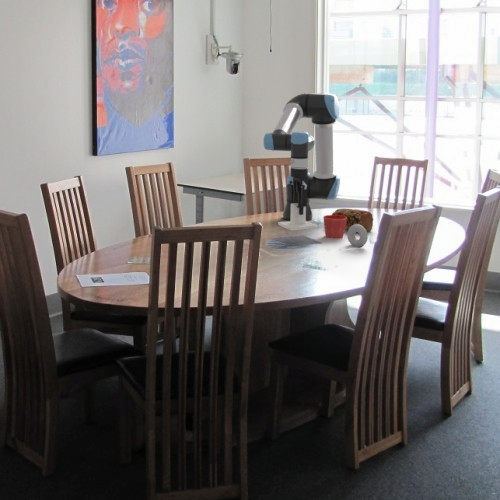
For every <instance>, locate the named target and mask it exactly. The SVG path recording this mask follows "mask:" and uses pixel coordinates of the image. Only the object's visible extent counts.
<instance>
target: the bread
mask: <svg viewBox="0 0 500 500" xmlns="http://www.w3.org/2000/svg"><path fill="white" fill-rule="evenodd" d="M331 215H340V216H345V217H347V221H346V226H345V231H347V232H348V230H349V228H350V227H351V226H352V225H355V224H359V225H361V226H363V227H364V228H365V229H366V231H367V233H369V232H371V231H372V230H373V227H374V225H373V224H374V215H373V213H371V212H370V211H368V210H363V209H356V208H354V209H353V208H338V209H336V210H334V211H333V212H332V214H331ZM345 231H344V232H345ZM356 233H357V234H359V233H358V232H356Z"/></svg>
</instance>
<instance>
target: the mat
mask: <svg viewBox="0 0 500 500" xmlns="http://www.w3.org/2000/svg"><path fill="white" fill-rule="evenodd" d="M272 239H274V240H276V241H278V242H280V243H283V244H285V245H288V246H289V247H293V246H295V247H296V246H306V245H308V246H309V245H320V244H323V242H321V241H319V240H316V239H314V238H311V237H309V236H307V235H294V236H281V237H272Z"/></svg>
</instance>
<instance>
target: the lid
mask: <svg viewBox="0 0 500 500" xmlns="http://www.w3.org/2000/svg"><path fill="white" fill-rule="evenodd" d="M297 206H298V203H291V216H290V220H288V221H287V220H286V221H278V222H277V224H278V226H280V227H282V228H285V229H286V230H290V231H302V230H312V229H314V230H315V229H319V225H318V224H315V223H313V222H310V221H309V220H306V206H305V207H304V208H303V222H297Z"/></svg>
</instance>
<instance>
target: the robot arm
mask: <svg viewBox="0 0 500 500" xmlns="http://www.w3.org/2000/svg"><path fill="white" fill-rule="evenodd" d="M339 104H340V103H339V100H338V97H337V95H335V94H333V93H307V92H306V93H300V94H298V95H296V96H294V97H292V98H290V100H288V101H287V102H286V104H285V105H284V107H283V108H282V109H283V110H282V115H281V117H280V119H279V120H278V122H277V124H276V126H275V128H274V130H273V131H272V132H269V133H265V134H264V136H263V148H264V149H265V150H266V151H272V152H274V151H277V152H278V151H280V152H281V151H282V152H290V160H289V161H290V162H289V163H290V167H291V168H290V169H289V171H290V174H289V175H288V176H287V179H286V202H285V203H286V204H285V206H284V210H283V213H282V219H283V220H286V221H287V220H288V221H290V216H291V203H298V206H297V222H303V208H304V207H305V206H306V221H311V220H312V219H313V212H312V209H311V205H310V200H323V201H324V200H325V201H331V200H332V201H334V200H335V199H337V197H338V193H339V190H340V185H341V182H340V181H341V177H339V176H337V172H336V171H335V170H334V138H333V137H334V131H333V130H334V129H333V126H334V124H335V123H336V120H337V119H338V118H339V116H340V105H339ZM302 118H303V119H305V118H307V119H311V123H312V124H313V125H314V137H313V136H312V135H311V134H310V133H308V132H307V131H293V130H294V128H295V126H296V124H297V123H298V121H300V120H301V119H302ZM314 147H315V171H314V172H313V173H312V175H311V172H309V169H308V167H309V151H312V149H314Z"/></svg>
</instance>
